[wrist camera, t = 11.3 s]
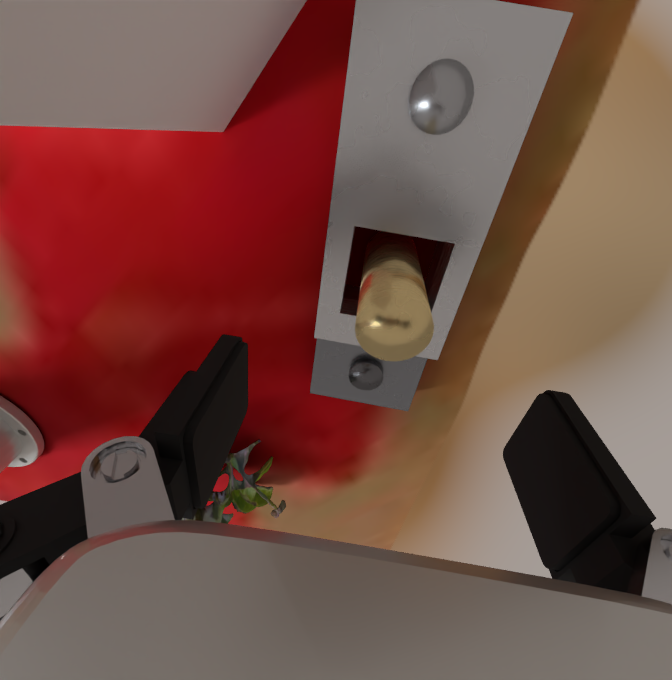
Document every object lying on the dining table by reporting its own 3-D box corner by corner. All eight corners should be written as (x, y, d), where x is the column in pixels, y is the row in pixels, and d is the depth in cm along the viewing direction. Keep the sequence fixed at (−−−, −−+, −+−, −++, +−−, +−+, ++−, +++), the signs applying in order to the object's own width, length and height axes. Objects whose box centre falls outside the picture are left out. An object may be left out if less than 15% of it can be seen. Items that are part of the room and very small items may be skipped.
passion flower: (215, 411, 40) (104, 445, 29) (288, 399, 34) (184, 435, 24) (235, 509, 39) (128, 578, 29) (312, 512, 34) (215, 599, 23)
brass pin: (397, 286, 23) (404, 372, 15) (355, 263, 22) (341, 340, 15) (426, 245, 21) (450, 319, 14) (382, 219, 20) (381, 280, 13)
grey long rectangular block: (406, 393, 28) (410, 438, 24) (314, 376, 28) (303, 418, 24) (532, 34, 15) (581, 8, 11) (364, 6, 15) (357, -28, 12)
